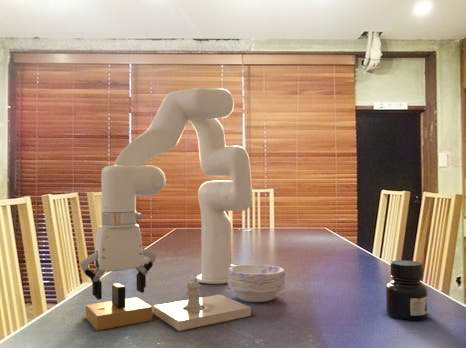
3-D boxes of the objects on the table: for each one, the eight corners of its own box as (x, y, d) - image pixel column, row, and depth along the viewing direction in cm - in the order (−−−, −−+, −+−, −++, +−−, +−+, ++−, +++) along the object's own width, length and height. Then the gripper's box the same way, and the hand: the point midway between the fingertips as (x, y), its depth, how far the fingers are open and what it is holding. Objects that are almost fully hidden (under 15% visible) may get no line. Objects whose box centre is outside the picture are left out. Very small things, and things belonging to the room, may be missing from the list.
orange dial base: (136, 309, 104) (136, 296, 104) (151, 320, 96) (151, 306, 96) (85, 318, 98) (85, 304, 98) (97, 330, 89) (97, 315, 90)
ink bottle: (423, 324, 92) (422, 268, 92) (381, 317, 97) (381, 264, 97) (430, 312, 100) (430, 261, 101) (392, 307, 105) (391, 258, 105)
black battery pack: (111, 303, 99) (111, 283, 99) (118, 302, 100) (118, 282, 100) (118, 308, 94) (118, 287, 95) (125, 307, 95) (125, 286, 95)
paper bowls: (290, 293, 119) (290, 264, 119) (276, 308, 105) (276, 275, 105) (239, 289, 124) (239, 261, 124) (219, 303, 110) (218, 272, 110)
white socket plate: (220, 302, 110) (220, 294, 110) (250, 315, 99) (250, 307, 99) (153, 314, 101) (153, 305, 101) (178, 331, 89) (178, 321, 89)
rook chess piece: (200, 320, 96) (199, 284, 96) (181, 318, 97) (181, 283, 97) (205, 314, 100) (205, 279, 100) (187, 313, 101) (187, 279, 101)
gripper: (149, 216, 105) (150, 285, 105) (75, 220, 96) (76, 297, 96) (161, 218, 99) (161, 292, 99) (83, 223, 90) (84, 305, 90)
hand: (119, 294), depth 97 cm, fingers open, 9 cm apart
